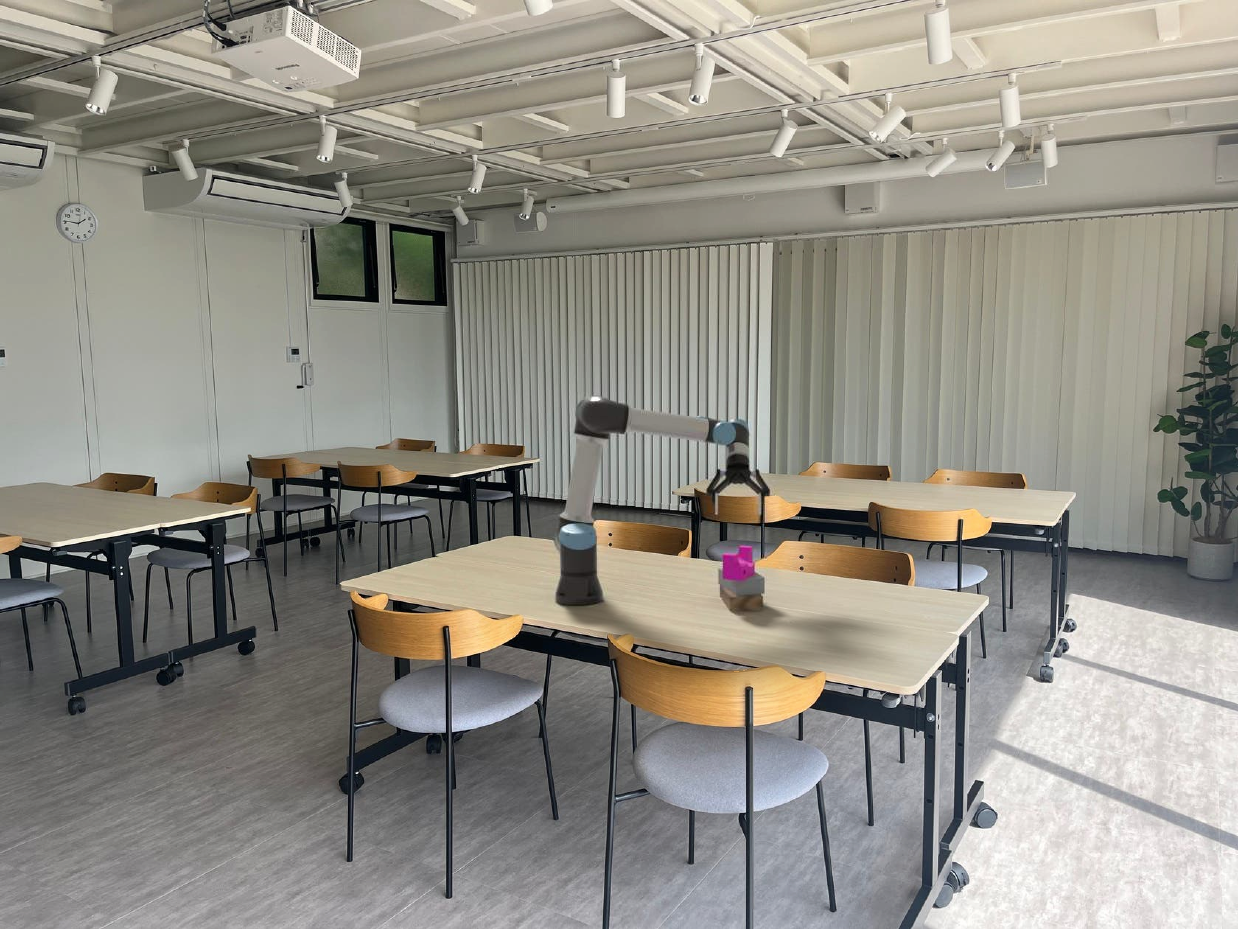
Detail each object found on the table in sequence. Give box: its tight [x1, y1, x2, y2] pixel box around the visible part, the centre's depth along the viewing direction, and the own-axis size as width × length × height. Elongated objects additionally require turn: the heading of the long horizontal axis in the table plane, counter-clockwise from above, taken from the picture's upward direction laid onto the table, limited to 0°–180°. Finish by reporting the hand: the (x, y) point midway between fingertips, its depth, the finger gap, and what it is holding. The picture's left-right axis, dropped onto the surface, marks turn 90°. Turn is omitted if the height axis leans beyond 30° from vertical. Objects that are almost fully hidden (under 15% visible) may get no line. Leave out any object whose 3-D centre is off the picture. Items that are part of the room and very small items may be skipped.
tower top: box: [717, 567, 766, 596], centre depth 284 cm, size 9×16×5 cm, turn 14°
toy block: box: [722, 545, 756, 581], centre depth 280 cm, size 15×6×8 cm, turn 151°
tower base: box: [719, 584, 764, 612], centre depth 283 cm, size 10×18×5 cm, turn 4°
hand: (738, 512), depth 288 cm, fingers open, 13 cm apart
